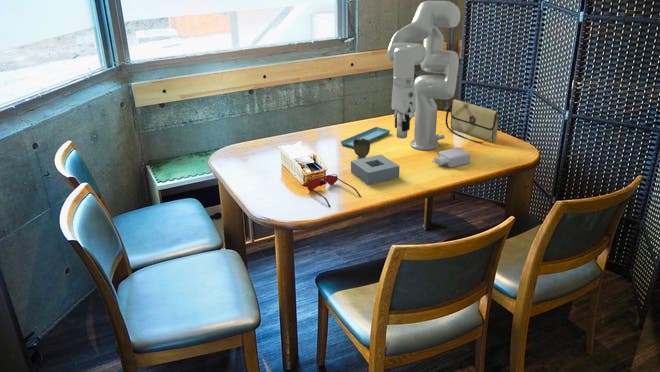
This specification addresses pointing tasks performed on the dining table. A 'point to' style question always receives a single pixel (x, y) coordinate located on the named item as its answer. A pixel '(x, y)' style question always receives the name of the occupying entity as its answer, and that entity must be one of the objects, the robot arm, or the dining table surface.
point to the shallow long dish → (366, 136)
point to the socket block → (375, 169)
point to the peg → (400, 126)
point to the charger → (453, 157)
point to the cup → (361, 147)
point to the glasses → (329, 180)
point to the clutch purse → (473, 121)
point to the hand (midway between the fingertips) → (402, 128)
